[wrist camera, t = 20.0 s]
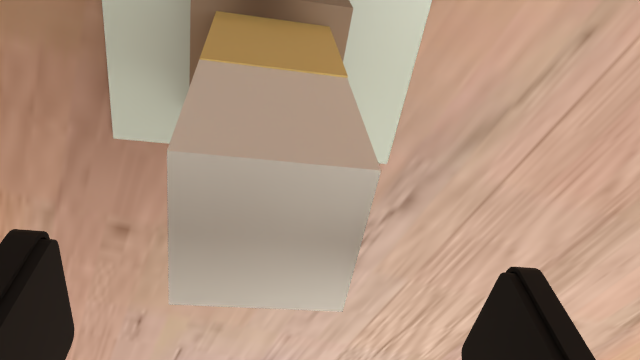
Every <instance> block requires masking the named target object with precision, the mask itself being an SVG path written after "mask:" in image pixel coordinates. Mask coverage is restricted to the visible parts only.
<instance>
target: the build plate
mask: <svg viewBox="0 0 640 360" xmlns="http://www.w3.org/2000/svg"><path fill="white" fill-rule="evenodd" d="M349 1H350V3H351V5H352V7H353V13H352V18H351V23H350V29H349V34H348V39H347V44H346V49H345V55H344V60H343V64H344V67H345V69H346V72H347V75H348V78H347V79H348V81H349V84H350V87H351V89H352V92H353V95H354V98H355V100H356V103H357V106H358V109H359V111H360V114H361V117H362V120H363V122H364V125H365V128H366V131H367V133H368V136H369V139H370V142H371V144H372V147H373V150H374V152H375V155H376V158H377V161H378V163H382V164H387V162H388V158H389V155H390V151H391V148H392V144H393V140H394V137H395V133H396V129H397V126H398V122H399V119H400V115H401V111H402V108H403V104H404V100H405V97H406V93H407V90H408V86H409V82H410V79H411V75H412V71H413V68H414V64H415V61H416V57H417V53H418V50H419V46H420V42H421V39H422V35H423V32H424V28H425V24H426V21H427V17H428V13H429V10H430V6H431V3H432V0H349ZM102 7H103V20H104V32H105V44H106V56H107V68H108V80H109V92H110V104H111V116H112V129H113V138H114V139H125V140H136V141H146V142H157V143H168V144H170V141H171V138H172V135H173V132H174V129H175V127H176V124H177V121H178V118H179V115H180V112H181V110H182V107H183V104H184V101H185V98H186V95H187V93H188V90H189V80H190V7H191V0H102Z"/></svg>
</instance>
